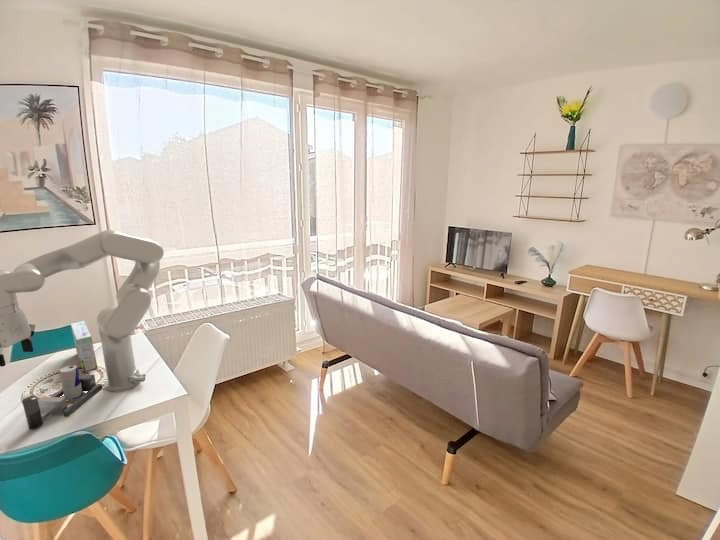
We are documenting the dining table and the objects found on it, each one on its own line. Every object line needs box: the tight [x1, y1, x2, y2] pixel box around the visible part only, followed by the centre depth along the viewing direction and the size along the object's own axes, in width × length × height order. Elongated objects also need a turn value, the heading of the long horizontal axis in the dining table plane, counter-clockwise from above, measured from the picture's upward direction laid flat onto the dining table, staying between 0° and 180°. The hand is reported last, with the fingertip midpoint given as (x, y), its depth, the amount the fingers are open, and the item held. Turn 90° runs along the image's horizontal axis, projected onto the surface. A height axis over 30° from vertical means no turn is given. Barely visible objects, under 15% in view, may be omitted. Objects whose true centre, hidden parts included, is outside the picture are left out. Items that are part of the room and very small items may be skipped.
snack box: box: [70, 320, 99, 373], centre depth 163 cm, size 21×6×15 cm, turn 42°
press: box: [50, 373, 103, 418], centre depth 136 cm, size 12×17×6 cm
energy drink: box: [59, 364, 84, 402], centre depth 137 cm, size 5×5×12 cm
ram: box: [21, 395, 69, 430], centre depth 125 cm, size 8×10×10 cm
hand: (14, 358), depth 124 cm, fingers open, 9 cm apart
